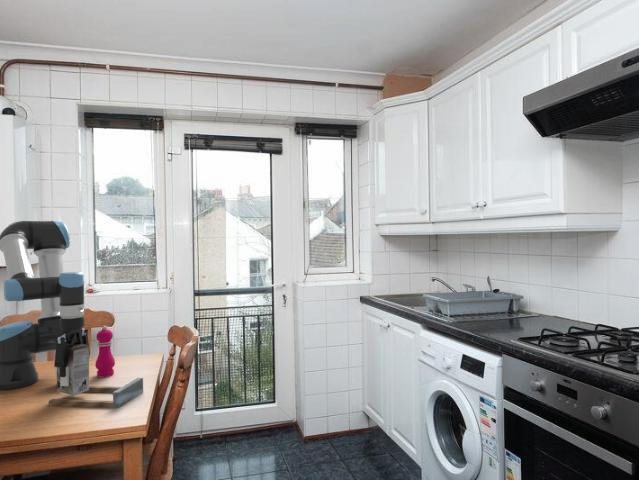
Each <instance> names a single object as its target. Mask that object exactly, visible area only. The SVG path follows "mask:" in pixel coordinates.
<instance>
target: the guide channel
mask: <svg viewBox="0 0 639 480" xmlns="http://www.w3.org/2000/svg"><path fill="white" fill-rule="evenodd" d="M143 392H144V377H137V378H134V379H133V380H132V381H129V382H128V383H127V384H125V385H123V386H110V385H109V386H107V385H106V386H103V385H102V386H101V385H98V386H97V385H92V386H91V385H89V390H88V391H85V392H84V393H108V394H109V393H111V394H112V400H99V399H97V400H93V399H91V400H90V399H59V398H58V399H57V398H52V399H50V400H48V407H80V408H109V409H110V408H112V409H113V408H114V409H119V408H121V407H123V406H124V405H126V404H127V403H129V402H130V401H131V400H134V399H135V398H137V396H139V395H140V394H142V393H143Z"/></svg>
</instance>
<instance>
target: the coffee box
mask: <svg viewBox="0 0 639 480" xmlns="http://www.w3.org/2000/svg"><path fill="white" fill-rule="evenodd" d="M67 349H68V350H69V360H68V364H67V367H69V386H60V369H59V367H57V379H56V386H57V387H56V389H57V392H58V393H63V394H66V395H70V396H76V395H79V394H82V393H86V392H85V391H88V390H89V386H90V355H89V350H90V344H89V345H85V344H74V345H73V347H70V348H67Z"/></svg>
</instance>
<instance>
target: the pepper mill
mask: <svg viewBox="0 0 639 480" xmlns="http://www.w3.org/2000/svg"><path fill="white" fill-rule="evenodd" d="M113 335H114V334H113V331H112V330H110V329H108V327H107V325H103V326H102V327H101V330H99V331H98V332H97V334H96V340H97V341H98V345H97V346H98V351H99V352H98V355H97V358H96V360H95V365H94V366H95V368H96V370H97V371H96V376H97V378H105V377H110V376H113V375H114V374H115V369H114V366H115V365H116V362H115V358H114V355H113V353H112V349H111V345H112V339H113V337H114V336H113Z"/></svg>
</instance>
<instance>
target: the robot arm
mask: <svg viewBox="0 0 639 480" xmlns="http://www.w3.org/2000/svg"><path fill="white" fill-rule="evenodd" d="M70 244H71V239H70V234H69V230H68V227H67V225H66V224H65V223H64V222H62V221H57V220H56V221H55V220H20V221H16V222H13V223H11V224H9V225H8V226H6V227H5V228H4V230H2V231H1V233H0V251H1V252H2V253H3V257H4V263H5V266H6V271H7V272H6V273H7V277H8V279H6V280H4V282H3V297H4V300H5V301H7V302H22V301H33V300H40V305H41V307H40V309H41V315H40V316H39V317H38V318H37V323H33V321H31V320H21V321H20V320H19V321H15V322H12V323H7V324H5V325H2V326H0V390H1V391H3V390H12V389H20V388H23V387H27V386H30V385H32V384H35V383H37V382H39V379H40V378H39V373H38V371H37V368H36V366H35V364H34V354H41V353H49V352H54V351H55V355H54V364H53V366H54V368H55V367H59V369H60V386H69V367H67V364H68V360H69V350H68V349H67V348H70V347H73V345H74V344H85V345H89V346H90V343H89V336H88V334H89V329H87V328H86V329H85V328H84V327H85V325H86V324H85V316H84V315H85V279H84V273H83V272H81V271H67V272H66V271H65V272H64V264H63V263H64V261H63V255H64V254H65V253H66V252H67V249H68V248H70V246H71V245H70ZM28 250H33V254H34V255H35V256H36V257H37V258H38V272H39V277H35V275H34V271H33V268H32V263H31V260H30V255H29V252H28ZM90 352H91V351H90V349H89V356H90V354H91V353H90Z"/></svg>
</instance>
